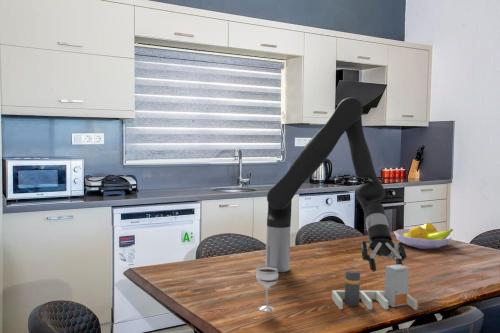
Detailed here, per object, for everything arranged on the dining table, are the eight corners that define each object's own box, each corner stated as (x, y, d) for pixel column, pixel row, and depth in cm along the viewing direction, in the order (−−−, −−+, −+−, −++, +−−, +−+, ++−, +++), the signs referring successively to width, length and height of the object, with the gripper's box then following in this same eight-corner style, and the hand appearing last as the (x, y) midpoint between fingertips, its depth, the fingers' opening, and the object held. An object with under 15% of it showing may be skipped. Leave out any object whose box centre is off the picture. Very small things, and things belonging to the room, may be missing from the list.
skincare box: (393, 307, 142) (394, 269, 142) (383, 303, 146) (385, 265, 146) (407, 305, 145) (409, 267, 144) (398, 300, 149) (399, 263, 148)
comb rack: (339, 309, 140) (339, 301, 140) (331, 297, 150) (332, 290, 150) (417, 309, 141) (417, 301, 141) (404, 298, 151) (404, 290, 151)
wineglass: (258, 303, 143) (259, 265, 143) (280, 306, 142) (281, 267, 141) (252, 310, 137) (253, 270, 136) (274, 313, 135) (275, 273, 134)
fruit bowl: (383, 241, 238) (384, 219, 237) (427, 239, 246) (428, 218, 245) (418, 254, 211) (419, 230, 210) (466, 251, 219) (468, 228, 219)
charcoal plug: (346, 306, 142) (347, 274, 142) (342, 301, 147) (343, 270, 146) (361, 306, 143) (362, 274, 142) (356, 301, 147) (358, 270, 147)
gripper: (360, 222, 159) (368, 264, 149) (401, 223, 160) (412, 265, 149) (355, 234, 165) (363, 276, 154) (395, 235, 166) (405, 276, 155)
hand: (387, 270), depth 152 cm, fingers open, 8 cm apart
